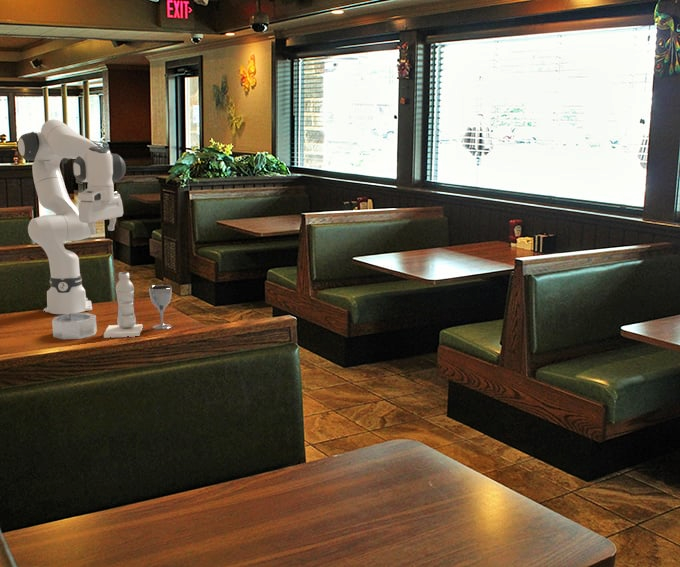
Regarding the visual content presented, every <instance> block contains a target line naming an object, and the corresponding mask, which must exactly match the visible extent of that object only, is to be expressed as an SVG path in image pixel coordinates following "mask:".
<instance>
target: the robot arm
mask: <svg viewBox="0 0 680 567" xmlns="http://www.w3.org/2000/svg"><path fill="white" fill-rule="evenodd" d="M17 149H18V153H19V156H20V157H21V158H22V159H23V160H26V161H33V162H32V167H31V168H32V178H33V183H34V187H35V190H36V194H37V198H38V201H39V202H38V203H39V204H40V205H41V206H42V207H43V208H45V209H46V210H49V211H51V212H53V213H54V214H47V215H41V216H38V217H35V218H32V219H31V220H30V221H29V223H28V225H27V233H28V236H29V238H30V239H31V240H32V242H34V243H36V244H37V245H39V247H41V248H42V250H43V251H44V252H45V254H46V257H47V258H48V264H49V272H50V277H49V286H50V288H48V290H47V291H46V303H47V305H46V307H44V308H43V312H44V311H45V312H44V313H50V314H54V315H65V314H70V313H84V312H86V311H88V312H89V311H92V310H93V306H92V301H91V300H89V298H88V297H87V295H86V289H85V287H84V286H83V278H82V274H81V273H80V272H81V271H80V270H81V269H80V258H79V256H78V255H77V254H76V253H75V252H73V251H71V250H68V249H67V248H65V244H64V243H65V242H75V241H81V240H86V239H88V238H91V237H92V235H94V236H95V235H97V234H98V229H97V228H95V226H96V222H101V221H105V220H109V225H107V230H108V231H115V226H116V223H117V218H120V217H123V215H124V205H123V201H122V198H121V194H120V193H119V192H118V191H114V190H115V189H114V184H115V183H114V182H120V181H121V180H122V179H123V177H124V176H125V175H126V170H127V168H126V167H127V166H126V163H125V160H124V159H123V157H121V156H120V155H119V154H118V153H112V152H111V150H110V149H109V148H107V147H105V146H102V145H100V144H99V143H97V142H95V141H93V140H91V139H89V138H87V137H85V136H83V135H81V134H80V133H78V132H76V131H75V130H73V129H72V128H71V127H70V126H69V125H68V124H66V123H64V122H63V121H61V120H59V119H49V120H46V121H45V122H44V123H43V124H42V126H41V129H40V131H39V132H38V131H37V132H34V131H31V132H27V133H24V134H22V135H21V136H20V137H19V138H18V141H17ZM72 159H74V161H73V162H72V175H73V176H74V177H75V179H76V180H77V181H78V182H82V183H87V188H86V189H85V190H83V191H82V192H80V193H79V194H78V195H77V200H78V201H79V202H78V207H77V206H76V205H75V203H74V202H73V201H72V199H71V198H70V196H69V193H68V191H67V188H66V185H65V181H64V177H63V175H62V171H61V168H60V164H61V162H62V164H67V163H68V161H70V160H72Z"/></svg>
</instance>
